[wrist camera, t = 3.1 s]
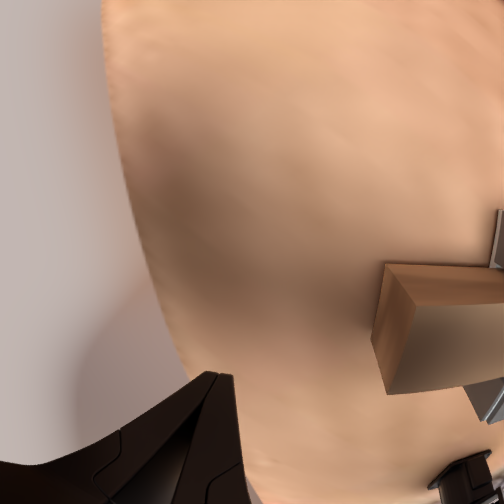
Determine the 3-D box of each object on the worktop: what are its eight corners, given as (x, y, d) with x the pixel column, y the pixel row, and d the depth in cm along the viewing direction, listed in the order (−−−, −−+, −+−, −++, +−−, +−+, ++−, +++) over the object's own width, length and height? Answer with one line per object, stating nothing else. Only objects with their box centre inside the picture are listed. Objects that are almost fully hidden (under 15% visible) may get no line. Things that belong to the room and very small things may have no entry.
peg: (507, 329, 11) (538, 365, 7) (370, 339, 13) (387, 395, 9) (526, 269, 10) (566, 297, 6) (385, 263, 11) (416, 306, 8)
